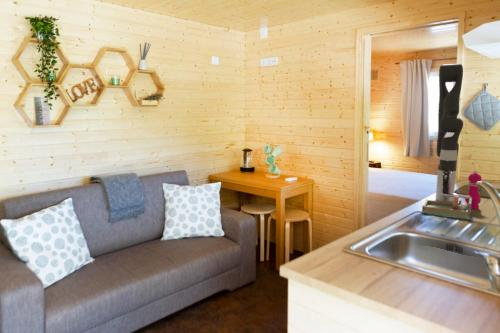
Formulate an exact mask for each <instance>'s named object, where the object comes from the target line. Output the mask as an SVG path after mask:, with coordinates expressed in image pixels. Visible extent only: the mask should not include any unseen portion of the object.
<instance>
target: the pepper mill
mask: <svg viewBox="0 0 500 333" xmlns="http://www.w3.org/2000/svg"><path fill="white" fill-rule="evenodd" d="M467 180H468V181H469V182H468V185H469V190H468V192H467V193H466V195H470V197H472V202H471V210H475V211H476V210H480V205H479V204H480V203H481V202H482V199H481V195H480V193H479V187H480V186H478V185H476V182H477V181H480V182H482V175H481V174H479V173H478V171H477V170H473V173H470V174H469V175H468V177H467ZM464 201H465V204H469V199H468V198H464Z"/></svg>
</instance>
